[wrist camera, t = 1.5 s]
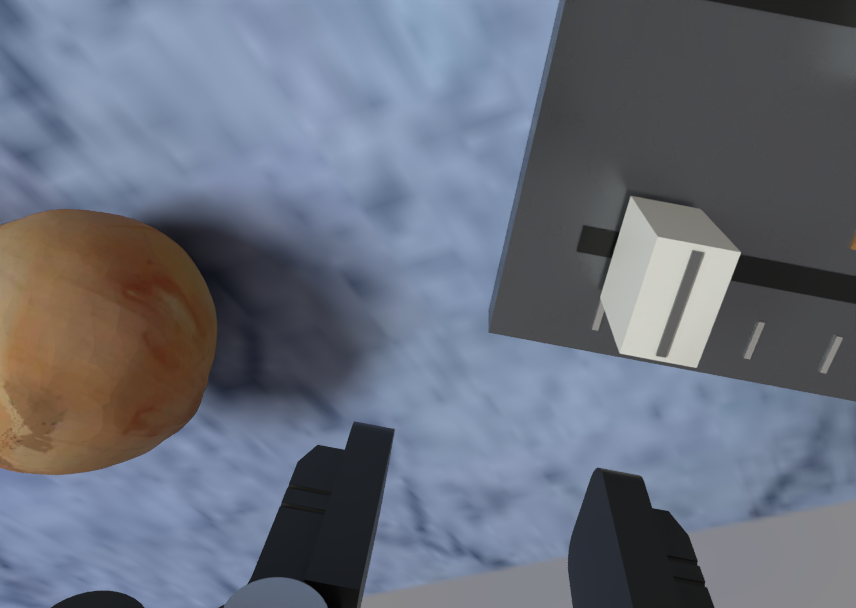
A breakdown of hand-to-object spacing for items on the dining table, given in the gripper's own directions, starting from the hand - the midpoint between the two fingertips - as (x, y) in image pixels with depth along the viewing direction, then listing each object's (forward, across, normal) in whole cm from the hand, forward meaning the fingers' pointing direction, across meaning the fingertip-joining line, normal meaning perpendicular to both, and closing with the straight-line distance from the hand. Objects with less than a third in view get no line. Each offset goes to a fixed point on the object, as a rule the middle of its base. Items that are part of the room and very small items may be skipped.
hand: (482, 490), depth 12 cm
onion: (+17, +14, +6) cm, 23 cm away
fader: (+15, -6, 0) cm, 16 cm away
